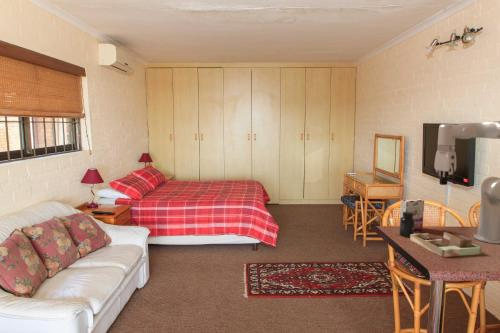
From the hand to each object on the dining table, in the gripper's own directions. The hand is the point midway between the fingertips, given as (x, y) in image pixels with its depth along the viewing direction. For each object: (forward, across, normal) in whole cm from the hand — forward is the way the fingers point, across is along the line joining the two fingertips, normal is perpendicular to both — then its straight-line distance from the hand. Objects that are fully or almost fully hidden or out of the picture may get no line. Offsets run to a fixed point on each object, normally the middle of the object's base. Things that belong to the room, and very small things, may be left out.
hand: (443, 184), depth 181 cm
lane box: (+26, -15, +11) cm, 33 cm away
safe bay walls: (+27, -22, +11) cm, 36 cm away
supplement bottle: (+27, +3, +18) cm, 32 cm away
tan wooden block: (+27, -21, +8) cm, 35 cm away
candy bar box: (+27, +12, +8) cm, 30 cm away
